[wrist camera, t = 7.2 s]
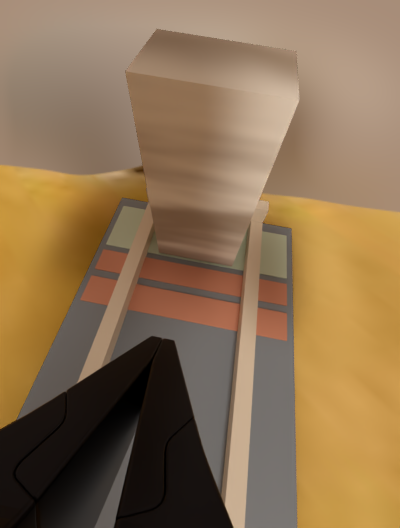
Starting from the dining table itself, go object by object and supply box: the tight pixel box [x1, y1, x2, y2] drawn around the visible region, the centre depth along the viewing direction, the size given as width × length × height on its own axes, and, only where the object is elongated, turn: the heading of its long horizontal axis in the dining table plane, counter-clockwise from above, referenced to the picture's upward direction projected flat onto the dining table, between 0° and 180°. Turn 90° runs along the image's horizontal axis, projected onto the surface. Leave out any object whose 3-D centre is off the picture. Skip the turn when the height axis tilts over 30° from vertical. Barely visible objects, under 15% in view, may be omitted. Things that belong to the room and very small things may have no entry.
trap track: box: [17, 188, 297, 528], centre depth 14 cm, size 24×16×3 cm
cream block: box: [125, 29, 299, 266], centre depth 14 cm, size 4×6×12 cm, turn 80°
